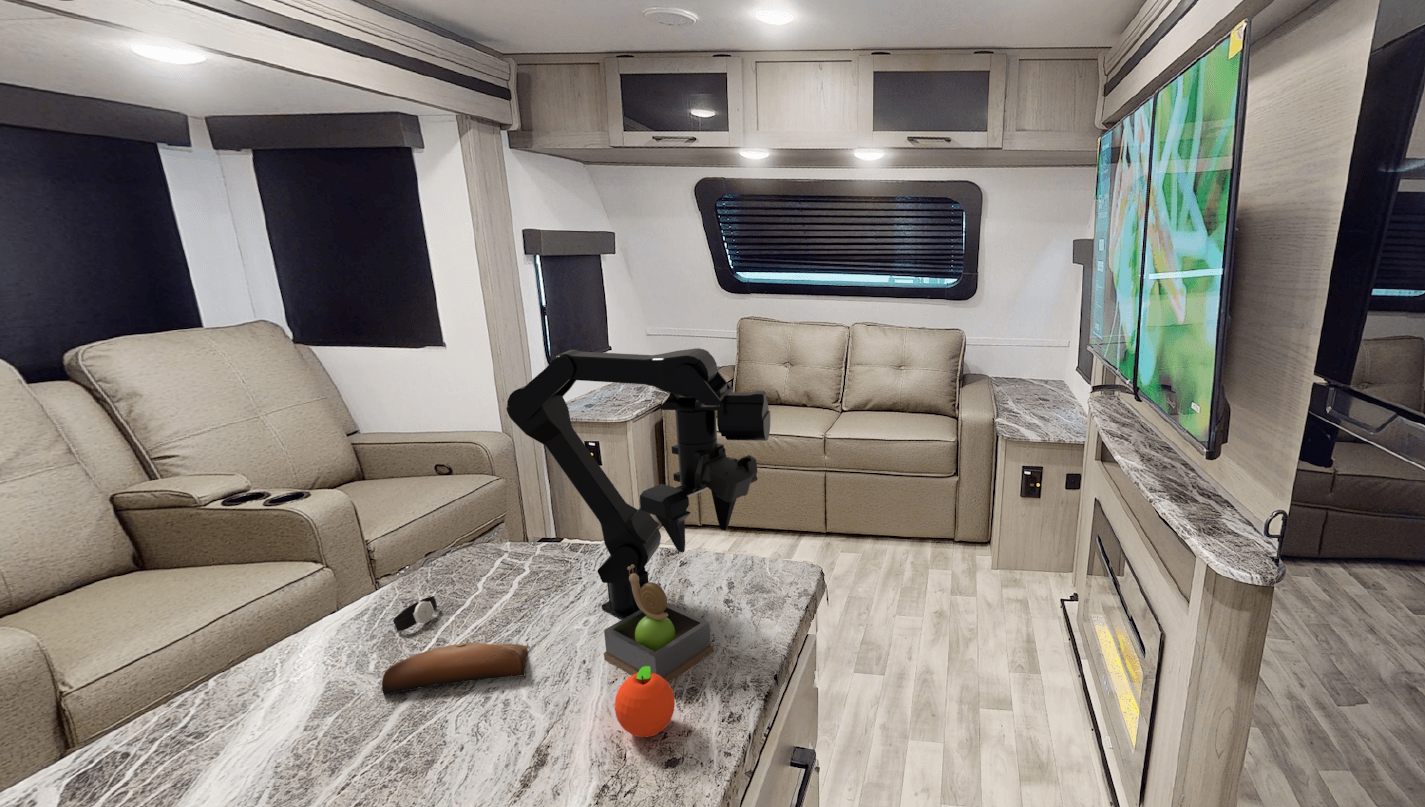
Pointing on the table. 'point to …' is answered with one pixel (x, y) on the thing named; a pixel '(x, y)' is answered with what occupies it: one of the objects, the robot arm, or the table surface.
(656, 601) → the snail figurine
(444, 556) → the table surface
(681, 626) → the grey planter box
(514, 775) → the table surface
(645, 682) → the clementine
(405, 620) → the watch
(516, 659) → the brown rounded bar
